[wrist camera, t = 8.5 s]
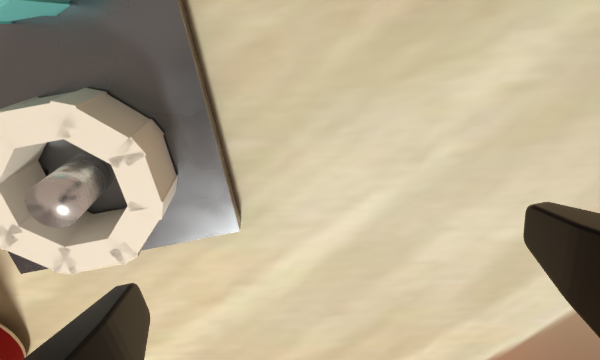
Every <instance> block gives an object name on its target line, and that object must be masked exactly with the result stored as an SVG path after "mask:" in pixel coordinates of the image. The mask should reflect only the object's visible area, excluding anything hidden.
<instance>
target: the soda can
mask: <svg viewBox="0 0 600 360" xmlns="http://www.w3.org/2000/svg"><path fill="white" fill-rule="evenodd" d="M26 357H27V356H26V352H25V349H24V346H23V344H22V343H21V341H20V340H19V338H18V337H17V336H16V335H15V334H14V333H13V332H12V331H11V330H10V329H8V328H7V327H6V326H4V325H3V324H1V323H0V360H23V359H24V358H26Z"/></svg>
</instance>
